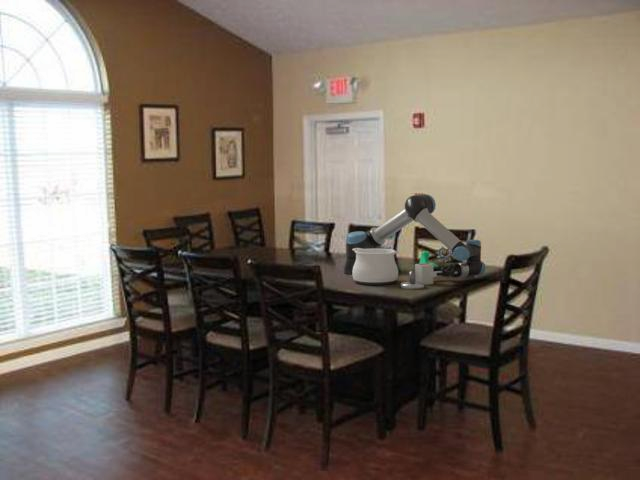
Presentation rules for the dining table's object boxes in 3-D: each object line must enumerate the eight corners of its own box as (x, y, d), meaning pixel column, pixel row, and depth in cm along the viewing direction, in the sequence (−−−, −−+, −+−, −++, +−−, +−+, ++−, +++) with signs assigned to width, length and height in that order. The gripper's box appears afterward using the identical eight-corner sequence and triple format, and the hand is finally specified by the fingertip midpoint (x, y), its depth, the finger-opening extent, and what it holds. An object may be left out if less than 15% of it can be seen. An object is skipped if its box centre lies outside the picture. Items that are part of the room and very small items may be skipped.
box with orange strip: (421, 284, 375) (421, 264, 374) (414, 282, 381) (414, 263, 380) (433, 283, 377) (433, 263, 376) (426, 281, 384) (426, 262, 383)
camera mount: (438, 269, 428) (438, 252, 427) (426, 270, 427) (426, 252, 425) (431, 266, 440) (431, 249, 439) (419, 267, 438) (419, 250, 437)
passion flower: (445, 271, 455) (437, 256, 450) (437, 265, 465) (429, 251, 460) (459, 260, 456) (451, 246, 452) (451, 255, 466) (443, 241, 461)
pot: (410, 281, 385) (410, 249, 383) (382, 288, 367) (382, 254, 365) (368, 276, 404) (368, 245, 402) (340, 282, 386) (339, 250, 384)
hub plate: (407, 290, 360) (407, 274, 359) (396, 286, 371) (396, 271, 370) (428, 288, 365) (428, 272, 364) (416, 284, 376) (416, 269, 375)
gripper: (471, 280, 375) (436, 283, 367) (445, 273, 398) (412, 276, 390) (471, 266, 374) (436, 268, 366) (445, 260, 397) (412, 262, 389)
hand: (423, 272), depth 378 cm, fingers open, 13 cm apart
